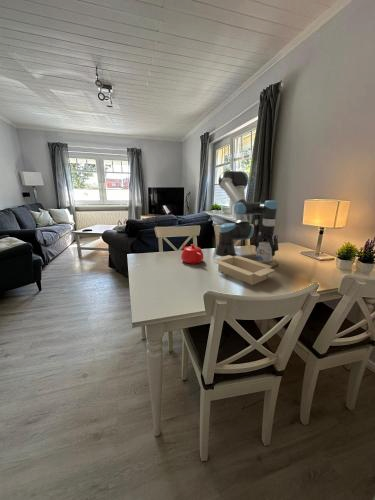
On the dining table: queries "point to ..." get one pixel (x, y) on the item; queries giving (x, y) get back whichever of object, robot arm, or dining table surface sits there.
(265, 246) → the ink box
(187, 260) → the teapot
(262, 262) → the board
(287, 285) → the dining table surface
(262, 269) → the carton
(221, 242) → the robot arm
